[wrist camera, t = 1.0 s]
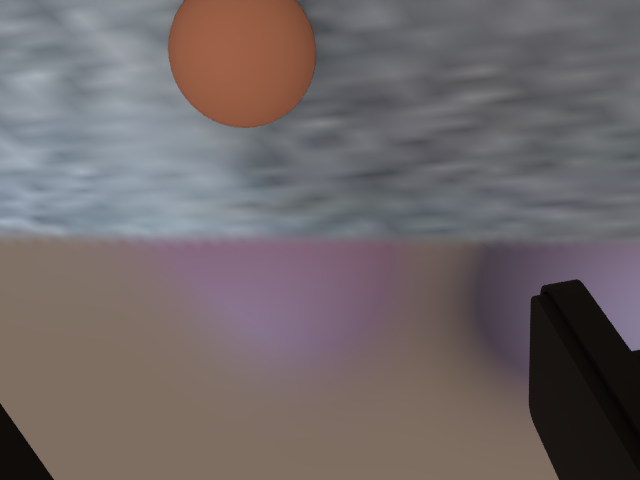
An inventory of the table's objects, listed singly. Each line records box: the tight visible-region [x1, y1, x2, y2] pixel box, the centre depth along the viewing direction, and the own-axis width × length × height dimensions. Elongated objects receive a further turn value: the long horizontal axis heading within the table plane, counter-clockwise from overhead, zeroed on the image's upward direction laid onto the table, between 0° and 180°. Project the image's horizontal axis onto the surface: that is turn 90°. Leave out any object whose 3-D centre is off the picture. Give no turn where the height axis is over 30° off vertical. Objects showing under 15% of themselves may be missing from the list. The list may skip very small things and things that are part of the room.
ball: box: [168, 0, 316, 128], centre depth 25 cm, size 6×6×6 cm
